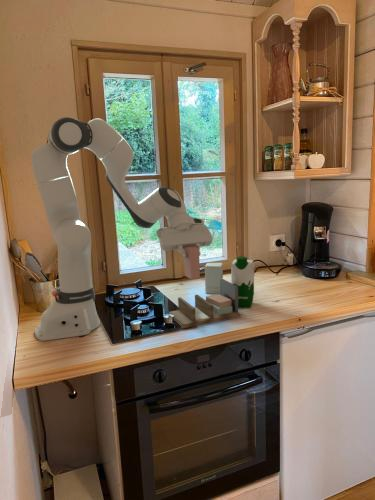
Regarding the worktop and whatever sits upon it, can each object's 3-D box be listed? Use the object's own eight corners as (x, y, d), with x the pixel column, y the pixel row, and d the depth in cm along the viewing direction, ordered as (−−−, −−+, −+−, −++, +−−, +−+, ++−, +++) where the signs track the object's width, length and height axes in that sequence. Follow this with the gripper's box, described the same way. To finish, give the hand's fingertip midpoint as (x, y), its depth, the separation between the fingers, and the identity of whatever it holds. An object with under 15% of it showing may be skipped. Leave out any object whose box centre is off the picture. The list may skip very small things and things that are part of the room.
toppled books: (217, 315, 139) (217, 303, 138) (205, 306, 148) (205, 295, 147) (233, 312, 141) (233, 300, 140) (220, 304, 151) (220, 293, 150)
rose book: (191, 279, 136) (190, 249, 134) (184, 275, 142) (183, 246, 140) (199, 278, 138) (199, 248, 135) (193, 274, 143) (192, 245, 141)
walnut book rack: (182, 328, 132) (181, 310, 131) (168, 315, 145) (168, 299, 143) (240, 316, 140) (240, 300, 139) (222, 305, 153) (222, 290, 152)
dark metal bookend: (235, 312, 140) (235, 287, 139) (220, 303, 151) (219, 279, 149) (238, 312, 141) (238, 286, 139) (223, 302, 152) (222, 278, 150)
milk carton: (230, 308, 150) (229, 258, 146) (233, 300, 159) (233, 253, 155) (252, 309, 148) (252, 259, 144) (255, 301, 156) (254, 254, 152)
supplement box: (221, 294, 168) (221, 266, 166) (205, 293, 170) (204, 266, 167) (223, 289, 175) (222, 262, 173) (207, 288, 177) (206, 262, 174)
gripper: (156, 223, 138) (167, 254, 131) (207, 219, 146) (219, 248, 139) (153, 234, 143) (163, 264, 136) (202, 229, 151) (214, 257, 144)
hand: (192, 256), depth 137 cm, fingers closed on rose book, 3 cm apart
